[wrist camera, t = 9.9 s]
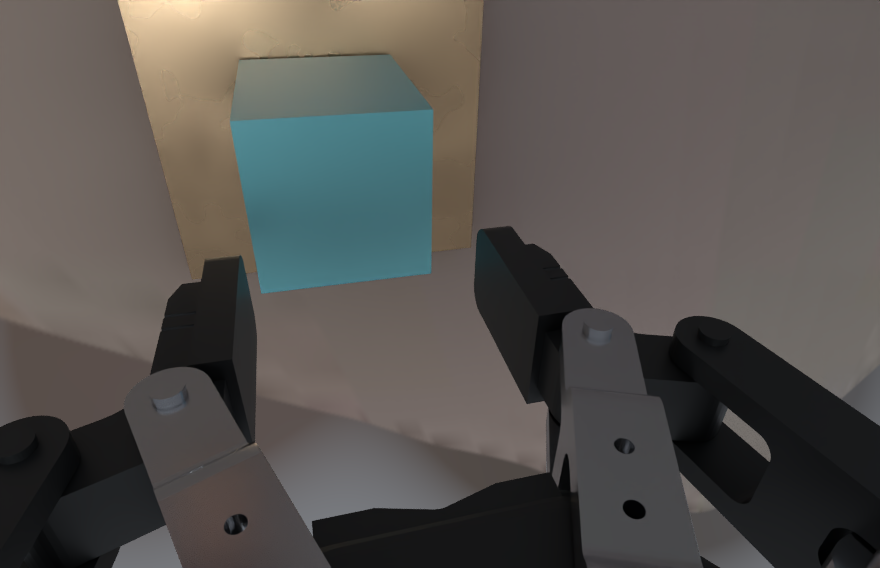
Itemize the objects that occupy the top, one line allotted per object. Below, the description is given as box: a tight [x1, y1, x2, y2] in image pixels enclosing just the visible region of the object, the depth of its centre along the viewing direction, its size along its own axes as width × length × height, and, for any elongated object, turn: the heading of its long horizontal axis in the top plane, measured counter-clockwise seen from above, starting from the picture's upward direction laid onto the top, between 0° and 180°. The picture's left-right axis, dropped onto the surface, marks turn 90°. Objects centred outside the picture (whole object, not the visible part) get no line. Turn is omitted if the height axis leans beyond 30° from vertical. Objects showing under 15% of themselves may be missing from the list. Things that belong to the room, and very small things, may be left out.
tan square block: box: [118, 0, 484, 279], centre depth 20 cm, size 12×12×7 cm
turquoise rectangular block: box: [230, 55, 433, 294], centre depth 19 cm, size 5×5×7 cm
